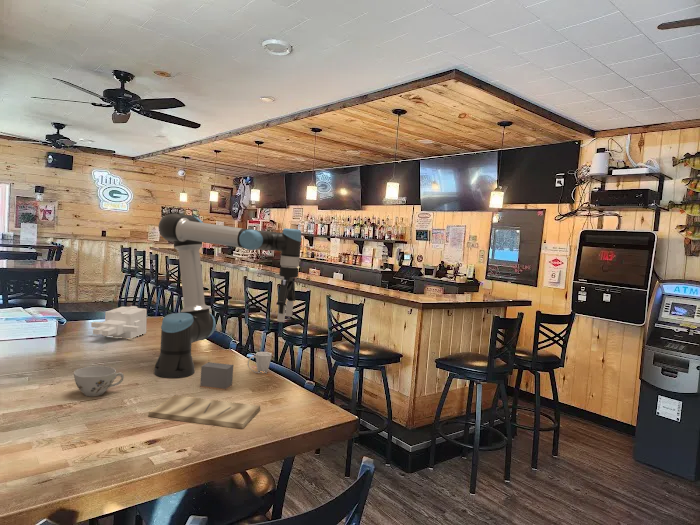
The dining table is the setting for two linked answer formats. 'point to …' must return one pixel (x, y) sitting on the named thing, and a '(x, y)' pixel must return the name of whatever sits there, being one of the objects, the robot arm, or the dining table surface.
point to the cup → (262, 361)
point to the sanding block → (216, 376)
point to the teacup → (96, 379)
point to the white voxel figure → (122, 322)
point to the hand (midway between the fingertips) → (284, 318)
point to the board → (206, 411)
